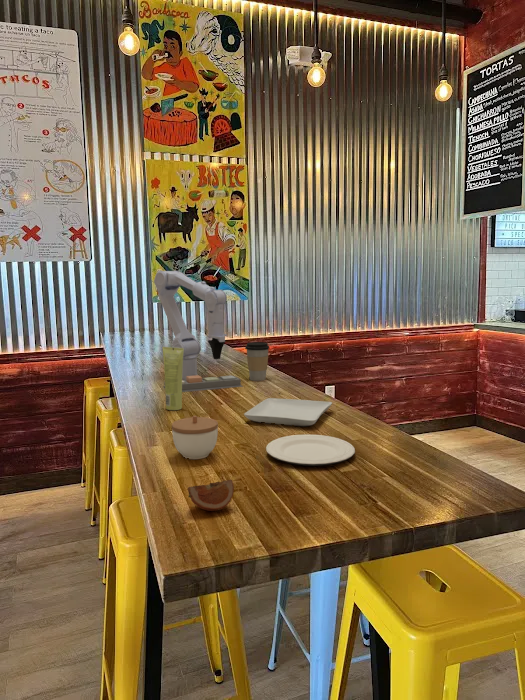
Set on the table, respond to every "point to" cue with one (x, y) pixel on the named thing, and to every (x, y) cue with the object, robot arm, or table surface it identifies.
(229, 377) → the key slate
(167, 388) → the tube
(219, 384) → the grey flat slotted tray
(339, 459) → the plate
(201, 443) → the lidded jar
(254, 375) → the coffee cup
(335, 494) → the table surface
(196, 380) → the key terracotta
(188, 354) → the robot arm
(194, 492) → the fruit slice
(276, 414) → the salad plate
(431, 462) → the table surface
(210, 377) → the key sage
